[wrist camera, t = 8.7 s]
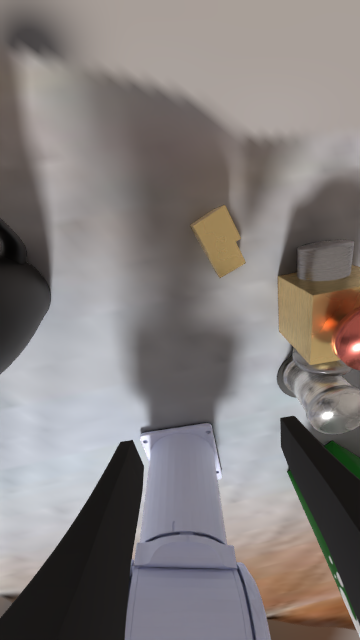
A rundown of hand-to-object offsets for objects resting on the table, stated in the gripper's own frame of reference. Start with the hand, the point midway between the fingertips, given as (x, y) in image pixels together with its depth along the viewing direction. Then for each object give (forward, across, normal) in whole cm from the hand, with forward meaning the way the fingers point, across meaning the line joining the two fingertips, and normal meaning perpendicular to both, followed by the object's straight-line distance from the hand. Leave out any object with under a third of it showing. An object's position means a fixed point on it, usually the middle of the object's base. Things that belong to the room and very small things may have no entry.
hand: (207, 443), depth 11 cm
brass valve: (+10, -10, -2) cm, 14 cm away
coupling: (+10, -10, +5) cm, 15 cm away
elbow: (+10, -3, -8) cm, 13 cm away
